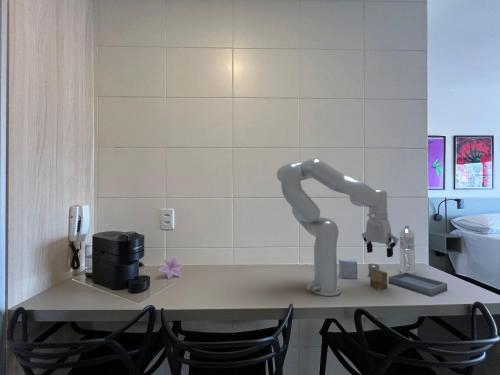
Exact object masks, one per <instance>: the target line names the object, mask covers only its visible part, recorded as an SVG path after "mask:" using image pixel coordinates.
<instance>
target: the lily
mask: <svg viewBox="0 0 500 375" xmlns="http://www.w3.org/2000/svg"><path fill="white" fill-rule="evenodd" d="M162 262H163V264H164V265H163V266H162V267H160V268H158V271H159V272H163V273H166V274H167V280H168V279H169V278H170V279H171V278H172V277H173V276H177V277H179V278H181V276H182V277H183V275H182V272H181V270H180V269H181V268H182V267H183V266H184V265H183V264H182V263H178V259H177V256H176V254H175V255H173V256H172V257H171V259H169V260H168V259H165V258H162ZM170 279H169V280H170Z"/></svg>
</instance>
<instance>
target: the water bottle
mask: <svg viewBox="0 0 500 375" xmlns="http://www.w3.org/2000/svg"><path fill="white" fill-rule="evenodd" d="M409 228H410V226H409V225H404V228H403V229H402V230H401V231H400V232H399V271H400V273H404V272H407V273H411V274H415V273H416V259H415V255H416V254H415V252H416V250H415V237H416V236H415V233H414V232H413V231H412V230H411V229H409ZM415 275H416V274H415Z"/></svg>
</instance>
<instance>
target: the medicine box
mask: <svg viewBox="0 0 500 375" xmlns="http://www.w3.org/2000/svg"><path fill="white" fill-rule="evenodd" d="M338 275H339V277H340V279H351V280H352V279H355V280H357V279H358V261H357V260H355V259H349V258H347V259H345V258H342V259H341V258H339V259H338Z"/></svg>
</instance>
